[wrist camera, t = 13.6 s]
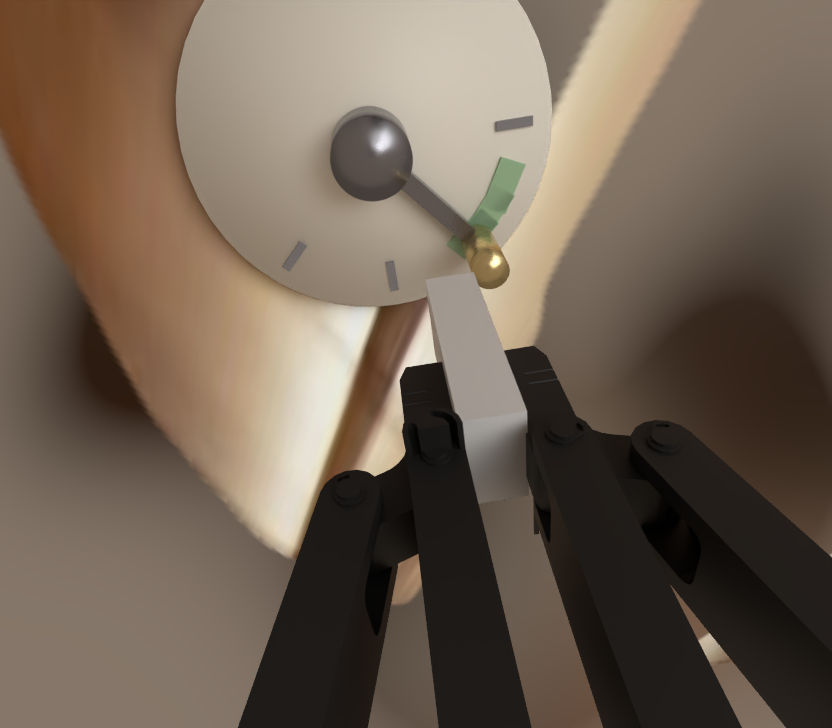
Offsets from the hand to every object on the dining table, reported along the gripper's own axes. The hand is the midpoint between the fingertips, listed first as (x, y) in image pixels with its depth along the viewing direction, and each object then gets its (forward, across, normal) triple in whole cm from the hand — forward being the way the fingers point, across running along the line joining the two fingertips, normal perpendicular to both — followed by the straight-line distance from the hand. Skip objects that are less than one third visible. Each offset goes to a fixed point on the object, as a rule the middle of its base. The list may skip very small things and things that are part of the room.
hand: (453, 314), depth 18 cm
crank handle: (+23, +1, -4) cm, 23 cm away
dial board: (+24, -2, -1) cm, 25 cm away
